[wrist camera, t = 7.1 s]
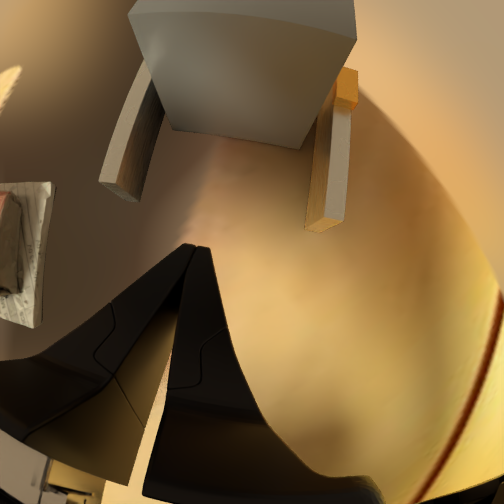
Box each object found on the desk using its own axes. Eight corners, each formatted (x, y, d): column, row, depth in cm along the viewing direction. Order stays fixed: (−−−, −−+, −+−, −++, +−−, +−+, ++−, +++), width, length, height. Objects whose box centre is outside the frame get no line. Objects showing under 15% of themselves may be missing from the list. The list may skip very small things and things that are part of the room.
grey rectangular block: (299, 149, 17) (356, 39, 7) (172, 130, 17) (127, 14, 7) (305, 94, 18) (351, -17, 8) (190, 77, 17) (168, -38, 7)
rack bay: (321, 233, 17) (386, 202, 9) (125, 200, 17) (57, 152, 9) (334, 96, 18) (376, 21, 10) (167, 71, 18) (143, -10, 10)
